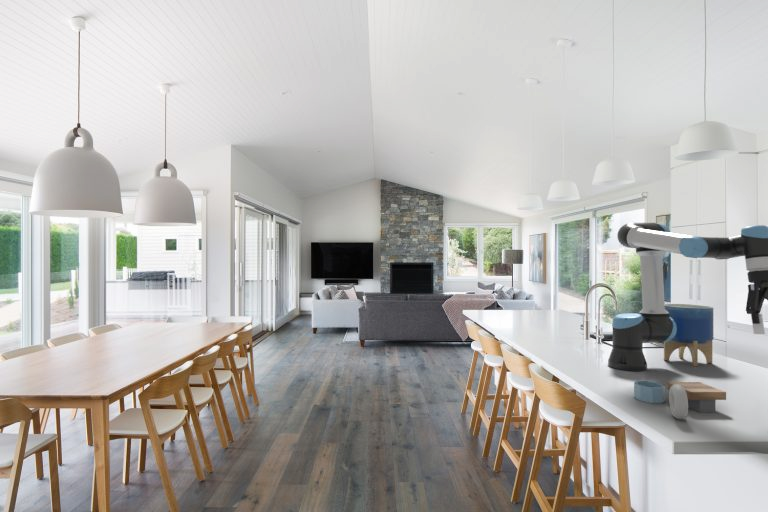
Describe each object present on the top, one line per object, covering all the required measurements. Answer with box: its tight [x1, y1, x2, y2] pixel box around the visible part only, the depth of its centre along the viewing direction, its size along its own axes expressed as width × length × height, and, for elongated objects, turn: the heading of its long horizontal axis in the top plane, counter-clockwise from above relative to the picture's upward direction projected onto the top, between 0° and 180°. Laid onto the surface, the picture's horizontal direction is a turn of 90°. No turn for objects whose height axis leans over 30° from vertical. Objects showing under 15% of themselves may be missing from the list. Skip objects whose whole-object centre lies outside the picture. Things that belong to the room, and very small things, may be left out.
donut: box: [668, 384, 689, 420], centre depth 129 cm, size 10×4×10 cm, turn 158°
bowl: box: [633, 380, 666, 404], centre depth 147 cm, size 8×8×5 cm
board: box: [666, 381, 727, 401], centre depth 140 cm, size 11×11×2 cm
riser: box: [688, 399, 717, 413], centre depth 140 cm, size 10×5×4 cm, turn 2°
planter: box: [663, 303, 714, 367], centre depth 203 cm, size 19×19×26 cm
